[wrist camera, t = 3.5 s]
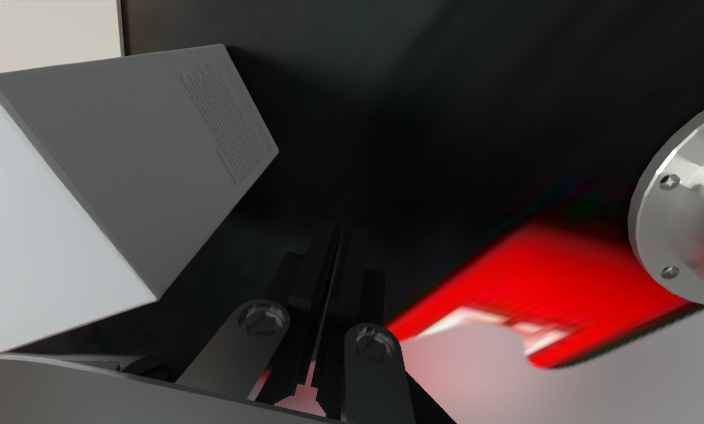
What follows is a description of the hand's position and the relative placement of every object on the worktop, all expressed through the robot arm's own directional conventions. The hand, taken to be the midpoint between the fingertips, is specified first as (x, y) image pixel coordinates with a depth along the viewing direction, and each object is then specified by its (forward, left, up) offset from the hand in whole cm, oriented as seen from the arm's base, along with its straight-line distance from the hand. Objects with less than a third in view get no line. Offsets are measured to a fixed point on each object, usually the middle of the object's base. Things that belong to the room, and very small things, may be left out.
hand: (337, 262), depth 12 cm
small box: (+10, 0, -10) cm, 14 cm away
